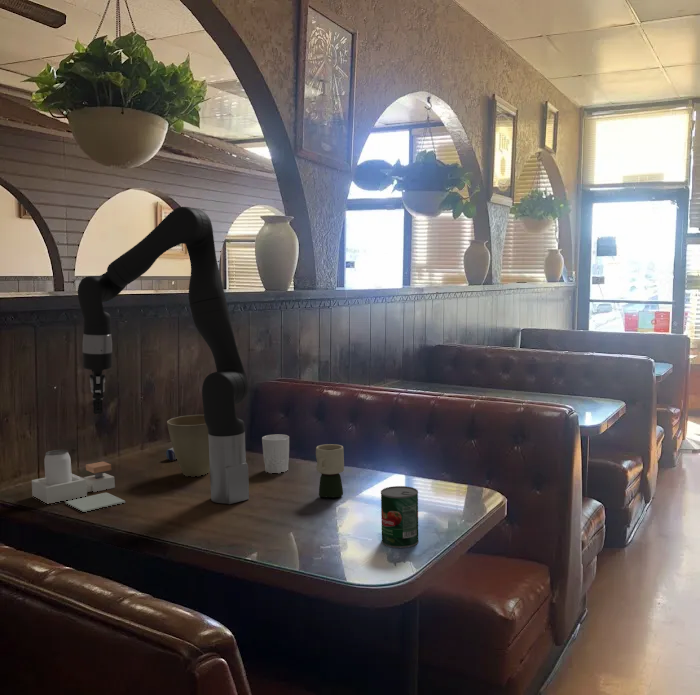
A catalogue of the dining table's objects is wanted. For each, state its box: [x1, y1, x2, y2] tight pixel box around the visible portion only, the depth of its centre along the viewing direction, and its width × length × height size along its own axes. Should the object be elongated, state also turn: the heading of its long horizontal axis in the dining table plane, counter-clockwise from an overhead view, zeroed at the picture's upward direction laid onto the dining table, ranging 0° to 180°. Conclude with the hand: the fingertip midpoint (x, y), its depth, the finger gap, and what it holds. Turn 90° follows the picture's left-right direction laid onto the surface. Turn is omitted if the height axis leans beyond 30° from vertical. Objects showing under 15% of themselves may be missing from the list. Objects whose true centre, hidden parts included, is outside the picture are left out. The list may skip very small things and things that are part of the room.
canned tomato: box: [380, 485, 419, 549], centre depth 160 cm, size 8×8×11 cm
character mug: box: [315, 443, 345, 499], centre depth 193 cm, size 11×7×13 cm, turn 152°
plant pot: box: [166, 414, 210, 478], centre depth 218 cm, size 15×15×16 cm
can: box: [43, 449, 73, 486], centre depth 199 cm, size 6×6×12 cm
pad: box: [64, 492, 126, 513], centre depth 193 cm, size 11×11×1 cm
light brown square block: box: [85, 460, 112, 479], centre depth 206 cm, size 5×5×4 cm
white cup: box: [261, 433, 290, 474], centre depth 220 cm, size 8×8×10 cm
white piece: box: [31, 472, 116, 504], centre depth 202 cm, size 10×19×4 cm, turn 132°
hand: (97, 410), depth 204 cm, fingers open, 8 cm apart
